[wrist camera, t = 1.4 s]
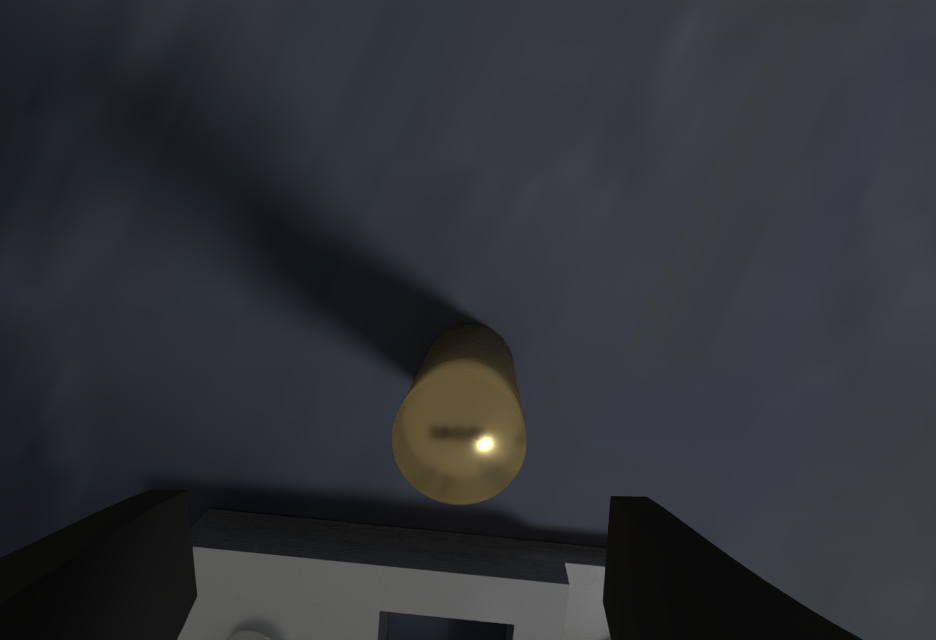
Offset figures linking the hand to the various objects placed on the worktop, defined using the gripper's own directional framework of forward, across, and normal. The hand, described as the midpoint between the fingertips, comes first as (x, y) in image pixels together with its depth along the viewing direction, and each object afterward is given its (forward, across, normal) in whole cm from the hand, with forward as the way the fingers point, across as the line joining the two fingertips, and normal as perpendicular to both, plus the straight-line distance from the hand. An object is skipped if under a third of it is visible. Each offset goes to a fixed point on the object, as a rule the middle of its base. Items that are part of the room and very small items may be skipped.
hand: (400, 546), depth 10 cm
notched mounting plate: (+10, -1, +10) cm, 14 cm away
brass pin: (+10, -1, 0) cm, 10 cm away
